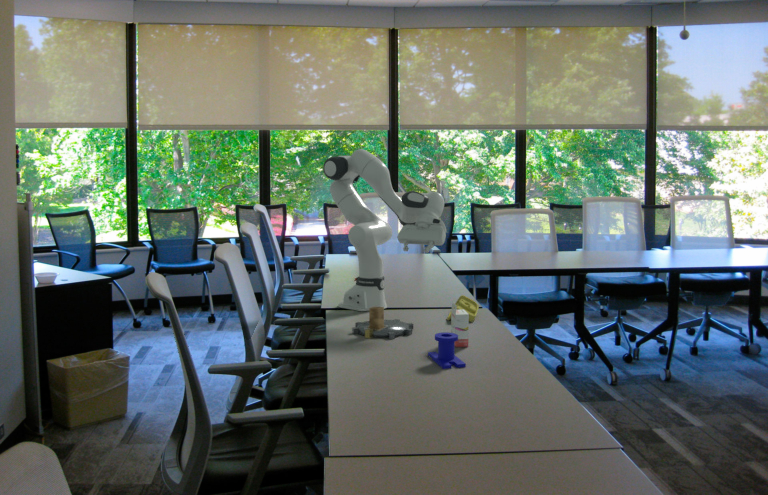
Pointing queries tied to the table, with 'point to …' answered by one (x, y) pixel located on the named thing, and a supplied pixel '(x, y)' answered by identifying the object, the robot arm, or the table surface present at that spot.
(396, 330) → the sprocket plate
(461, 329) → the ink cartridge box
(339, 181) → the robot arm
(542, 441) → the table surface
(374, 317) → the brown rectangular block
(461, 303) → the plastic component
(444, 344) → the mount
